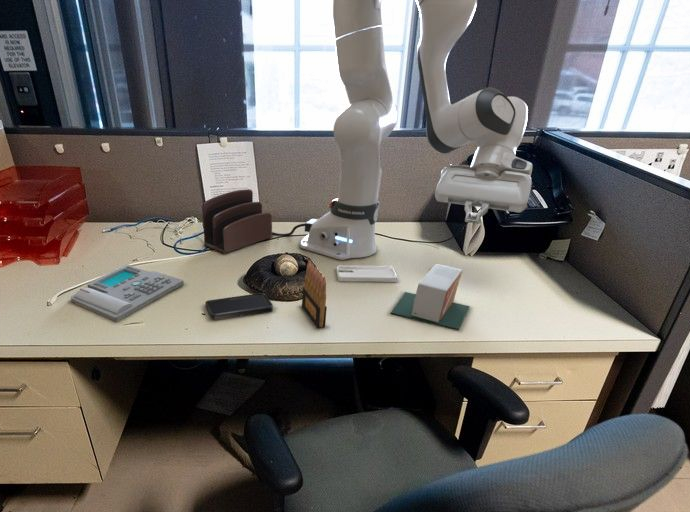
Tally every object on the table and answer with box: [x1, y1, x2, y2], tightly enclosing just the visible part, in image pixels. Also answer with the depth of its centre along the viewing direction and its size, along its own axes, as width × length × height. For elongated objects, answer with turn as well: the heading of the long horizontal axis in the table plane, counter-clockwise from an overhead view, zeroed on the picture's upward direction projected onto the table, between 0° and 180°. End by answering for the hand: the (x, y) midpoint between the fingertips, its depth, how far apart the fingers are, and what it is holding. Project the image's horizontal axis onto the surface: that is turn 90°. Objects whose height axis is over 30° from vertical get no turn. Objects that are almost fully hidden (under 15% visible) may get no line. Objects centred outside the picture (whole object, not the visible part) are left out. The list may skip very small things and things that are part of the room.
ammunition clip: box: [301, 259, 328, 329], centre depth 105 cm, size 11×2×12 cm, turn 13°
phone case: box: [335, 264, 398, 283], centre depth 125 cm, size 7×1×15 cm
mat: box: [390, 291, 470, 331], centre depth 110 cm, size 15×12×1 cm
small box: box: [411, 263, 463, 323], centre depth 108 cm, size 8×6×13 cm
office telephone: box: [70, 264, 185, 323], centre depth 119 cm, size 23×3×20 cm
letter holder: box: [201, 188, 273, 255], centre depth 143 cm, size 10×20×14 cm, turn 132°
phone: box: [205, 292, 274, 321], centre depth 112 cm, size 8×1×15 cm
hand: (471, 221), depth 110 cm, fingers closed
